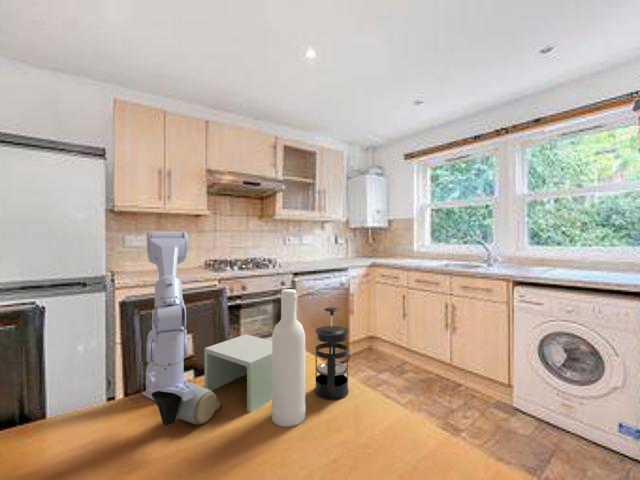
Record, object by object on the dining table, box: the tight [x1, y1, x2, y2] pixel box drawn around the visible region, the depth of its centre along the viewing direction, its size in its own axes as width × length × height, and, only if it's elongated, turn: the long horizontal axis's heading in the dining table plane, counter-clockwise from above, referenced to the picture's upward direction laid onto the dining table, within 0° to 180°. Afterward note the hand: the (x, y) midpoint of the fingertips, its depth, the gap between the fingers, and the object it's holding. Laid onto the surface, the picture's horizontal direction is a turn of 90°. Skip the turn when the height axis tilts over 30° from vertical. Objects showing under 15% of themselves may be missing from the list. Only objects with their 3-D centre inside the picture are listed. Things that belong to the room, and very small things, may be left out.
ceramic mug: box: [176, 381, 221, 425], centre depth 74 cm, size 11×8×8 cm
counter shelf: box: [203, 334, 272, 413], centre depth 86 cm, size 18×15×12 cm
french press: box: [314, 306, 350, 401], centre depth 85 cm, size 12×9×23 cm
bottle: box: [271, 288, 307, 428], centre depth 73 cm, size 8×8×30 cm
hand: (169, 423), depth 67 cm, fingers closed
